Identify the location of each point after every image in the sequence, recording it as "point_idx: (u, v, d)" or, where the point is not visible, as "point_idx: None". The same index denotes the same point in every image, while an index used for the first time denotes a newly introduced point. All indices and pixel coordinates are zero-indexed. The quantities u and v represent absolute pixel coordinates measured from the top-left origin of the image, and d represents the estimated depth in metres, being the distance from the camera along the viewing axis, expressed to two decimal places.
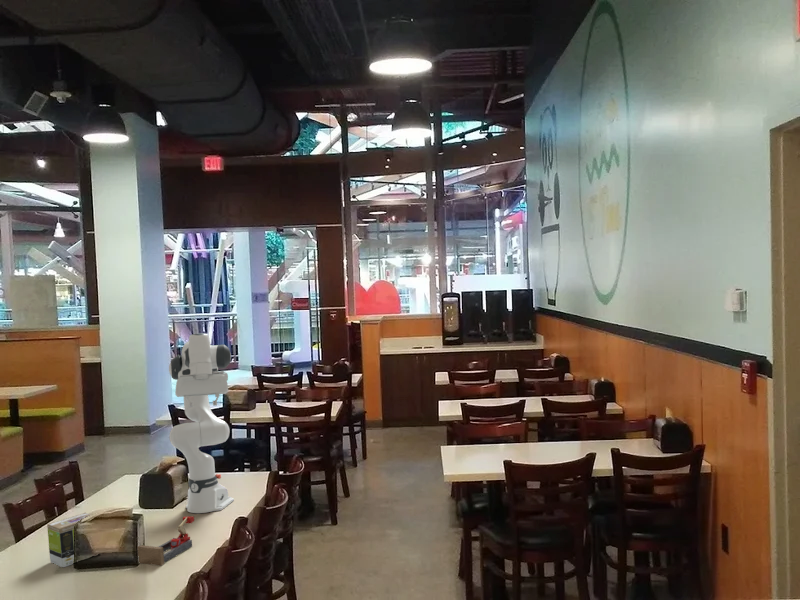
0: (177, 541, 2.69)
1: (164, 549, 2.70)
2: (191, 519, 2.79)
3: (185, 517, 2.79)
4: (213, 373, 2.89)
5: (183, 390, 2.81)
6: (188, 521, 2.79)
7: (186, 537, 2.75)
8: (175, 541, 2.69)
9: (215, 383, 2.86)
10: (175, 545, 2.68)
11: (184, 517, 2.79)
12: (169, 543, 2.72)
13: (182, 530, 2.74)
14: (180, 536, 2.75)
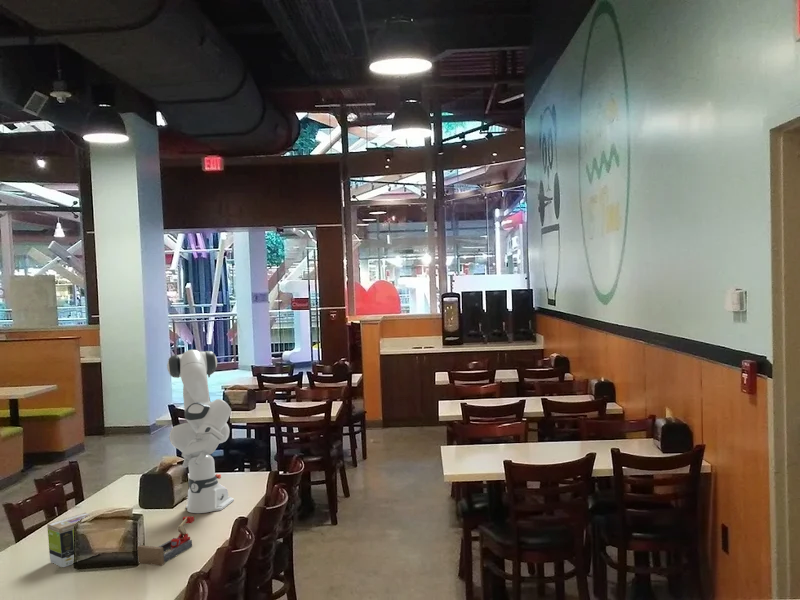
0: (177, 541, 2.69)
1: (164, 549, 2.70)
2: (191, 519, 2.79)
3: (185, 517, 2.79)
4: None
5: None
6: (188, 521, 2.79)
7: (186, 537, 2.75)
8: (175, 541, 2.69)
9: None
10: (175, 545, 2.68)
11: (184, 517, 2.79)
12: (169, 543, 2.72)
13: (182, 530, 2.74)
14: (180, 536, 2.75)
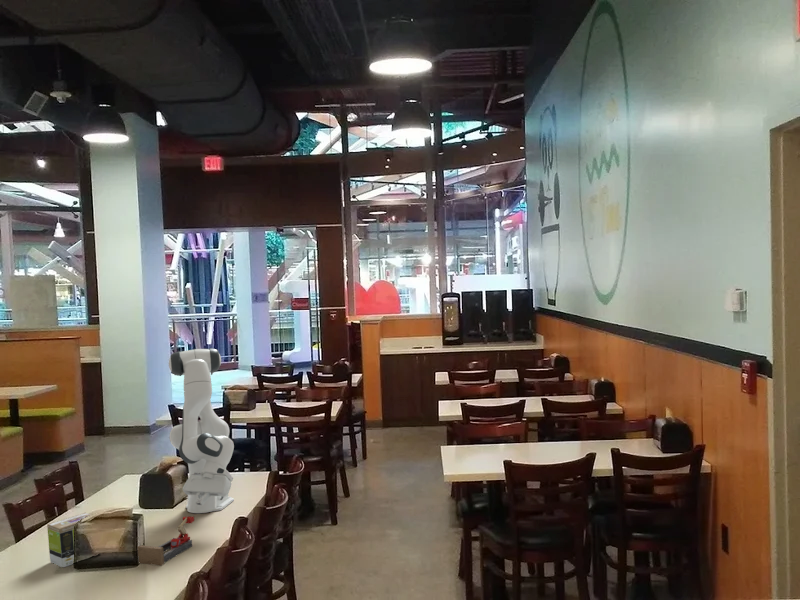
0: (177, 541, 2.69)
1: (164, 549, 2.70)
2: (191, 519, 2.79)
3: (185, 517, 2.79)
4: None
5: None
6: (188, 521, 2.79)
7: (186, 537, 2.75)
8: (175, 541, 2.69)
9: None
10: (175, 545, 2.68)
11: (184, 517, 2.79)
12: (169, 543, 2.72)
13: (182, 530, 2.74)
14: (180, 536, 2.75)
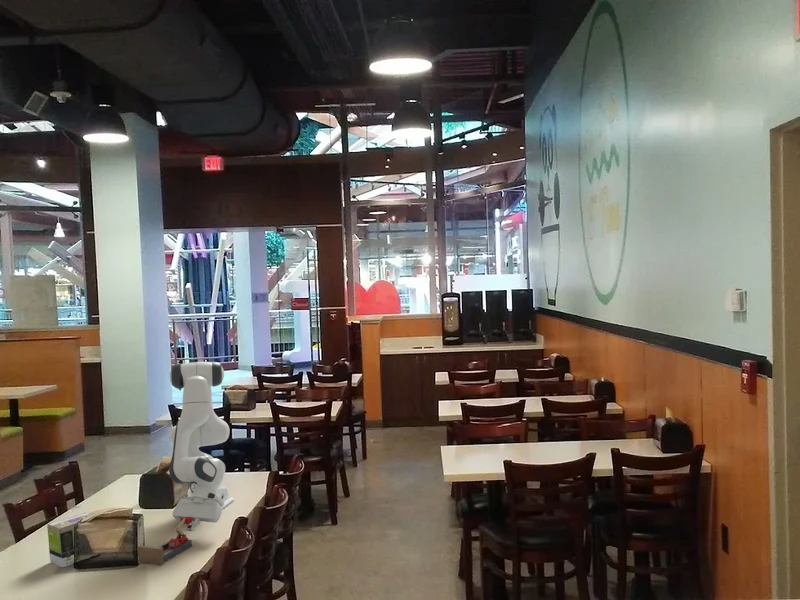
0: (175, 542, 2.68)
1: (164, 549, 2.70)
2: (189, 520, 2.78)
3: (183, 518, 2.78)
4: None
5: None
6: (186, 522, 2.78)
7: (184, 538, 2.74)
8: (173, 542, 2.68)
9: None
10: (173, 546, 2.67)
11: (182, 518, 2.78)
12: None
13: (180, 531, 2.73)
14: (178, 537, 2.74)
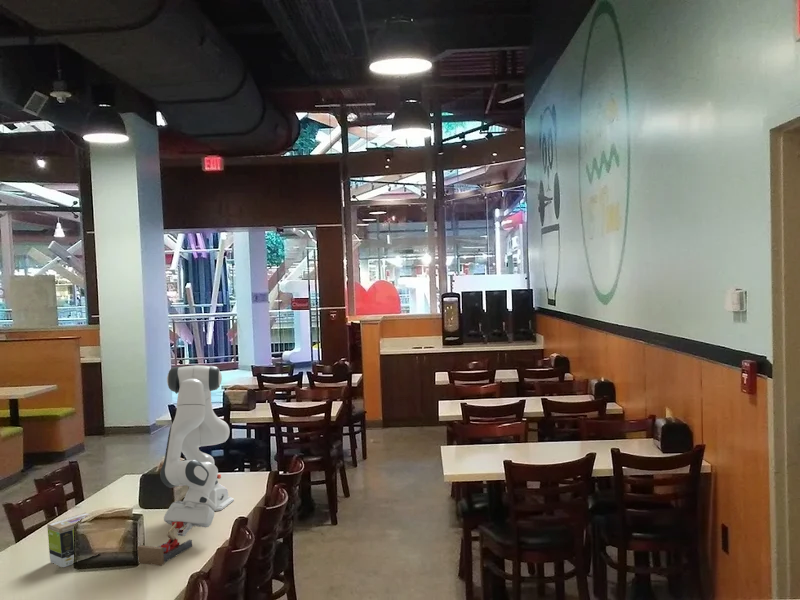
0: (167, 546, 2.63)
1: None
2: (180, 525, 2.73)
3: (174, 522, 2.73)
4: None
5: None
6: (177, 526, 2.73)
7: (176, 543, 2.69)
8: (165, 547, 2.63)
9: None
10: (165, 551, 2.63)
11: (173, 522, 2.73)
12: None
13: (172, 535, 2.68)
14: (169, 542, 2.69)
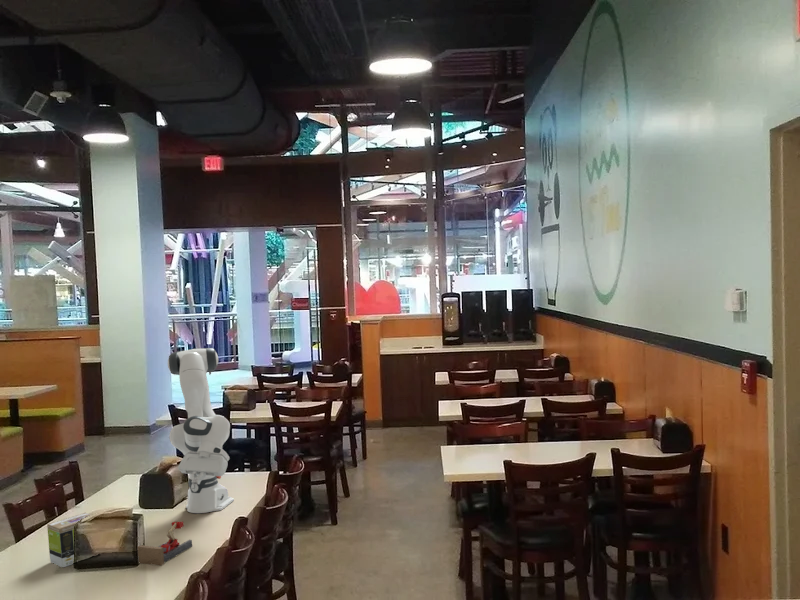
0: (167, 547, 2.63)
1: None
2: (180, 525, 2.73)
3: (174, 522, 2.73)
4: None
5: None
6: (177, 526, 2.73)
7: (176, 543, 2.69)
8: (165, 547, 2.63)
9: None
10: (165, 551, 2.63)
11: (173, 522, 2.73)
12: None
13: (172, 536, 2.68)
14: (169, 542, 2.69)
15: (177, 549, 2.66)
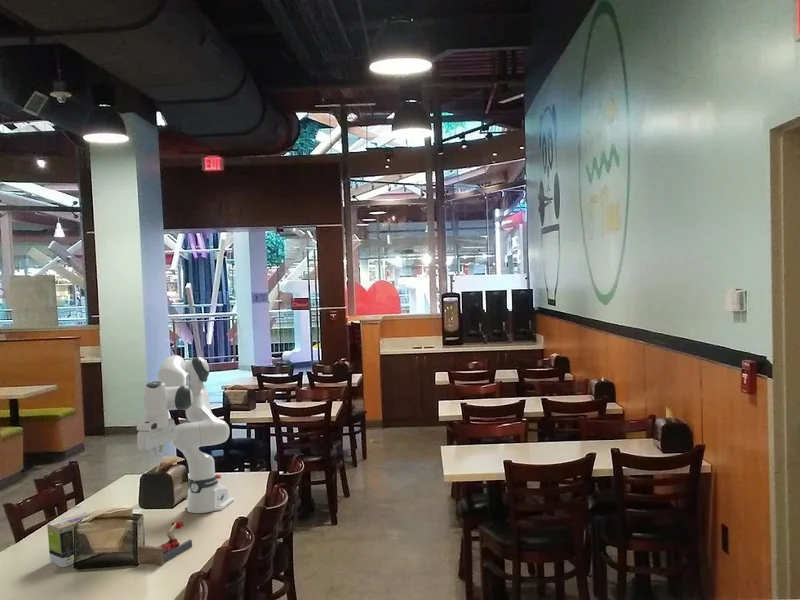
0: (167, 547, 2.63)
1: None
2: (180, 525, 2.73)
3: (174, 522, 2.73)
4: None
5: (149, 444, 2.83)
6: (177, 526, 2.73)
7: (176, 543, 2.69)
8: (165, 547, 2.63)
9: (169, 433, 2.95)
10: (165, 551, 2.63)
11: (173, 522, 2.73)
12: None
13: (172, 536, 2.68)
14: (169, 542, 2.69)
15: (177, 549, 2.66)
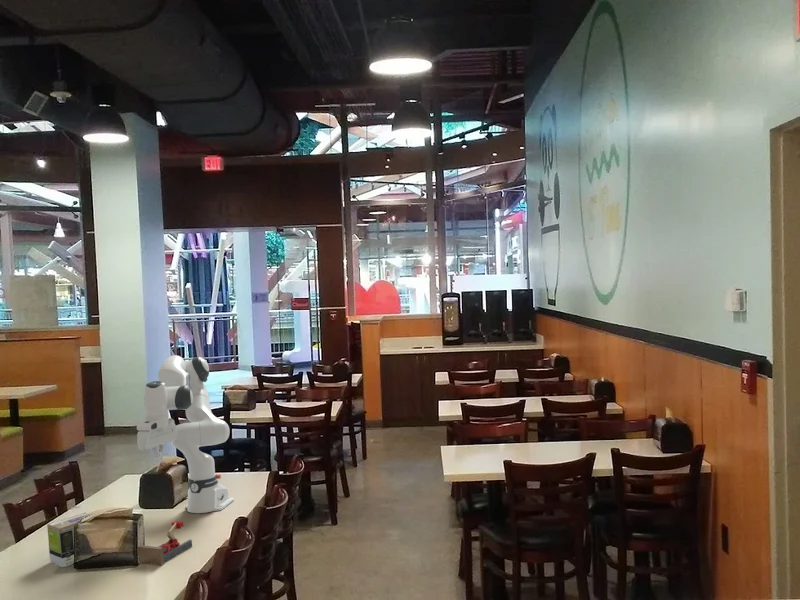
0: (167, 547, 2.63)
1: None
2: (180, 525, 2.73)
3: (174, 522, 2.73)
4: None
5: (149, 444, 2.83)
6: (177, 526, 2.73)
7: (176, 543, 2.69)
8: (165, 547, 2.63)
9: (169, 433, 2.95)
10: (165, 551, 2.63)
11: (173, 522, 2.73)
12: None
13: (172, 536, 2.68)
14: (169, 542, 2.69)
15: (177, 549, 2.66)
